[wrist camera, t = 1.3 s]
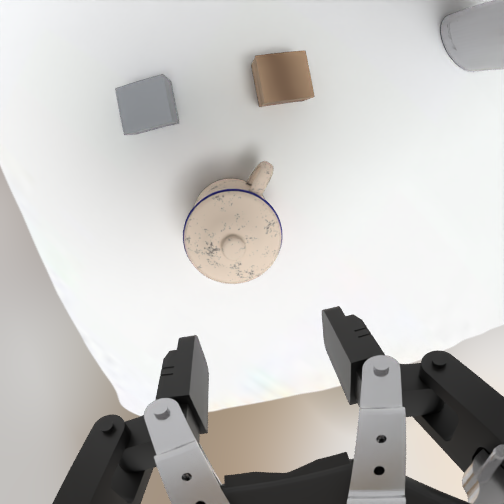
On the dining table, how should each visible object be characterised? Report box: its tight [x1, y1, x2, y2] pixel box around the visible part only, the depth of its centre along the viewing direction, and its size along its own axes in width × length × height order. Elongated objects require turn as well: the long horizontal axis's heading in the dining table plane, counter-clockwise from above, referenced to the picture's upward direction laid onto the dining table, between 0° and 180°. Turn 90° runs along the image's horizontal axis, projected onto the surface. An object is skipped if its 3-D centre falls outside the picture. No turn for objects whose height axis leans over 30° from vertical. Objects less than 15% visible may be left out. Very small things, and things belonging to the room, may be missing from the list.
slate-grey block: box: [115, 74, 179, 135], centre depth 30 cm, size 5×5×5 cm
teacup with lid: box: [183, 161, 282, 284], centre depth 31 cm, size 12×9×12 cm
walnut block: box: [251, 51, 314, 107], centre depth 30 cm, size 5×5×5 cm
